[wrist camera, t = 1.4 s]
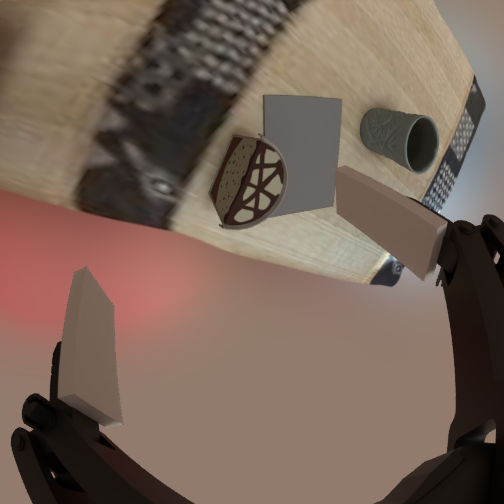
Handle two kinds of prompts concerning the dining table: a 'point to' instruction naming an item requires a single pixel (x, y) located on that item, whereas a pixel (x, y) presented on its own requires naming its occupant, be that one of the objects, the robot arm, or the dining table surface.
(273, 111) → the mat
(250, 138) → the food container
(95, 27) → the dining table surface
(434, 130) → the grey green cup
